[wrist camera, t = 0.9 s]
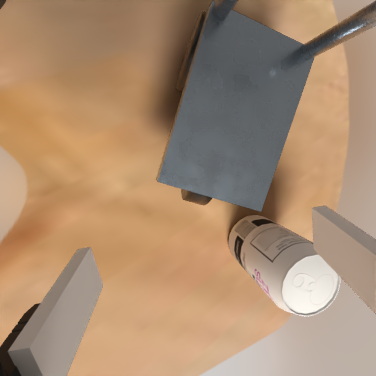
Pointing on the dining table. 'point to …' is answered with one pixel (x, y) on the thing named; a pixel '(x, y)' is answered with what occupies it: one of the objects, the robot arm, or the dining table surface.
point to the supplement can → (284, 265)
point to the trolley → (240, 103)
